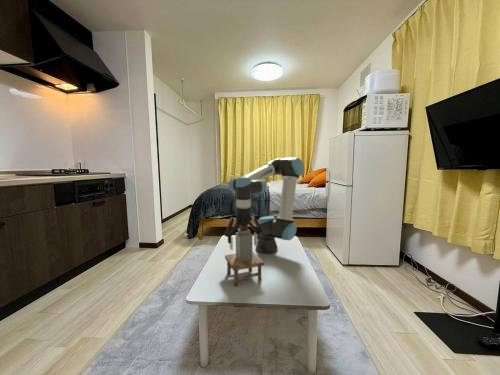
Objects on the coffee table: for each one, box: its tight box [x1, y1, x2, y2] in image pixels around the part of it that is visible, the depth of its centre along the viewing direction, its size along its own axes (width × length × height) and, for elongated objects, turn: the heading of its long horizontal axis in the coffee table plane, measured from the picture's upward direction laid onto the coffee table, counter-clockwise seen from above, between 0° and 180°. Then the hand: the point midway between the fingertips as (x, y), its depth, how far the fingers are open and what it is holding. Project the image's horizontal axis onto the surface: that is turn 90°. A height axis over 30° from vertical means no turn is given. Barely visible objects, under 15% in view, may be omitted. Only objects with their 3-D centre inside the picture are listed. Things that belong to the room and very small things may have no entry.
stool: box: [224, 250, 265, 287], centre depth 116 cm, size 16×16×10 cm
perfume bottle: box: [235, 224, 253, 262], centre depth 114 cm, size 7×7×18 cm
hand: (243, 247), depth 114 cm, fingers open, 13 cm apart
